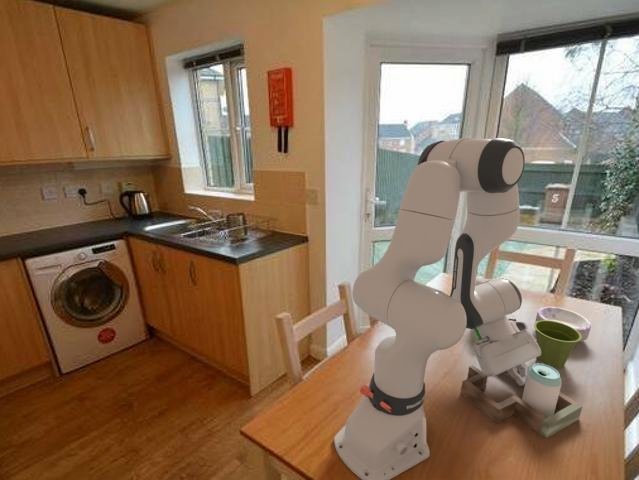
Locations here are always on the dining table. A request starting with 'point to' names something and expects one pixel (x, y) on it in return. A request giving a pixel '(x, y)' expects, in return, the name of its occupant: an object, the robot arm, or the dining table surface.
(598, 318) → the dining table surface
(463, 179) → the robot arm
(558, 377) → the can
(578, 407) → the wooden tray
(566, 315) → the paper bowls
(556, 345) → the plant pot
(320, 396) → the dining table surface
